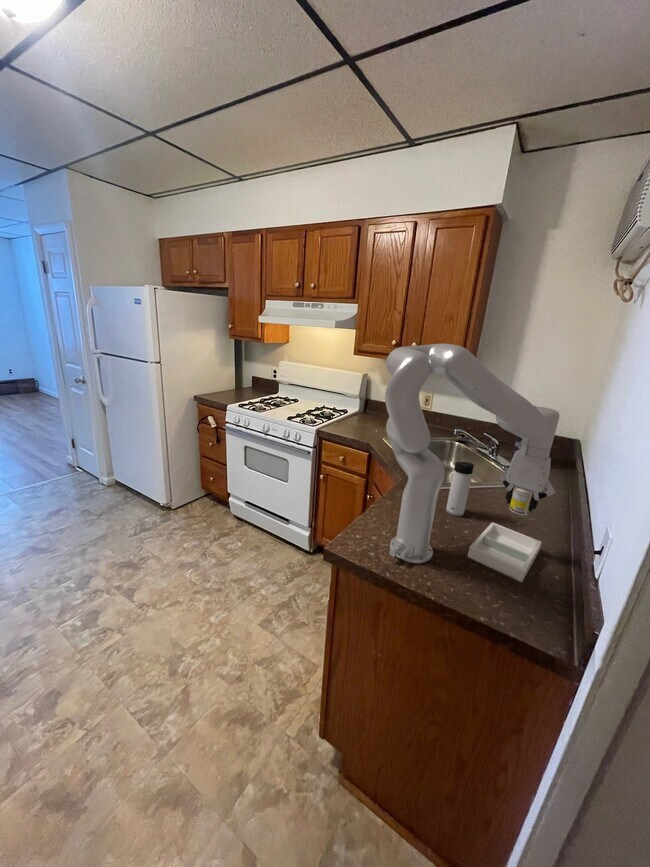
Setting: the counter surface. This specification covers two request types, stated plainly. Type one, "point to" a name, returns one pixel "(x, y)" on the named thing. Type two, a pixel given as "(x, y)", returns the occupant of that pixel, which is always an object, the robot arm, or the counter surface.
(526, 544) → the bay tray
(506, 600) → the counter surface
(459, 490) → the travel mug
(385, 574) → the counter surface
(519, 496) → the supplement bottle
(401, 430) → the robot arm
